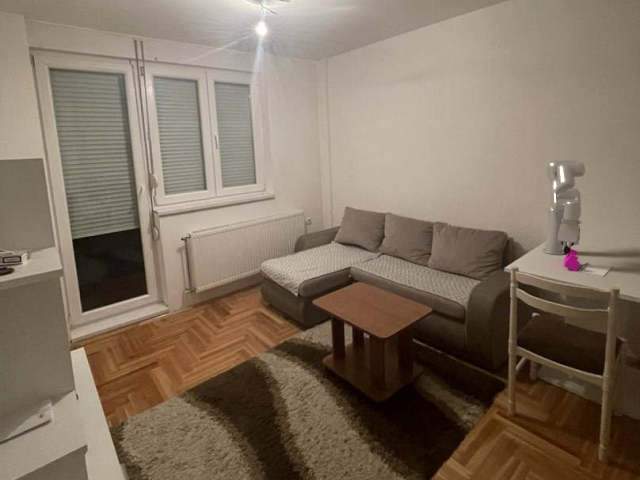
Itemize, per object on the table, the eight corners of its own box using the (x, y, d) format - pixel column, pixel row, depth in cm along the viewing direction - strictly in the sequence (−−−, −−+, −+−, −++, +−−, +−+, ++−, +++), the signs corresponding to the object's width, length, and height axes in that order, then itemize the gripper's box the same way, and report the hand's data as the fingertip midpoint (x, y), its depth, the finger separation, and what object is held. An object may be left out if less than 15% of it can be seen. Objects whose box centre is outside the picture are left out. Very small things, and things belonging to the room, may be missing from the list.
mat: (586, 264, 222) (586, 262, 221) (610, 268, 214) (611, 266, 213) (578, 271, 210) (578, 269, 209) (603, 276, 202) (603, 274, 201)
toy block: (575, 271, 210) (583, 260, 207) (563, 266, 213) (571, 254, 210) (575, 264, 223) (582, 253, 220) (563, 259, 225) (570, 248, 222)
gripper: (587, 223, 213) (583, 254, 217) (557, 220, 223) (554, 250, 227) (584, 224, 208) (579, 256, 212) (553, 221, 218) (550, 252, 222)
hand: (566, 253), depth 219 cm, fingers closed
